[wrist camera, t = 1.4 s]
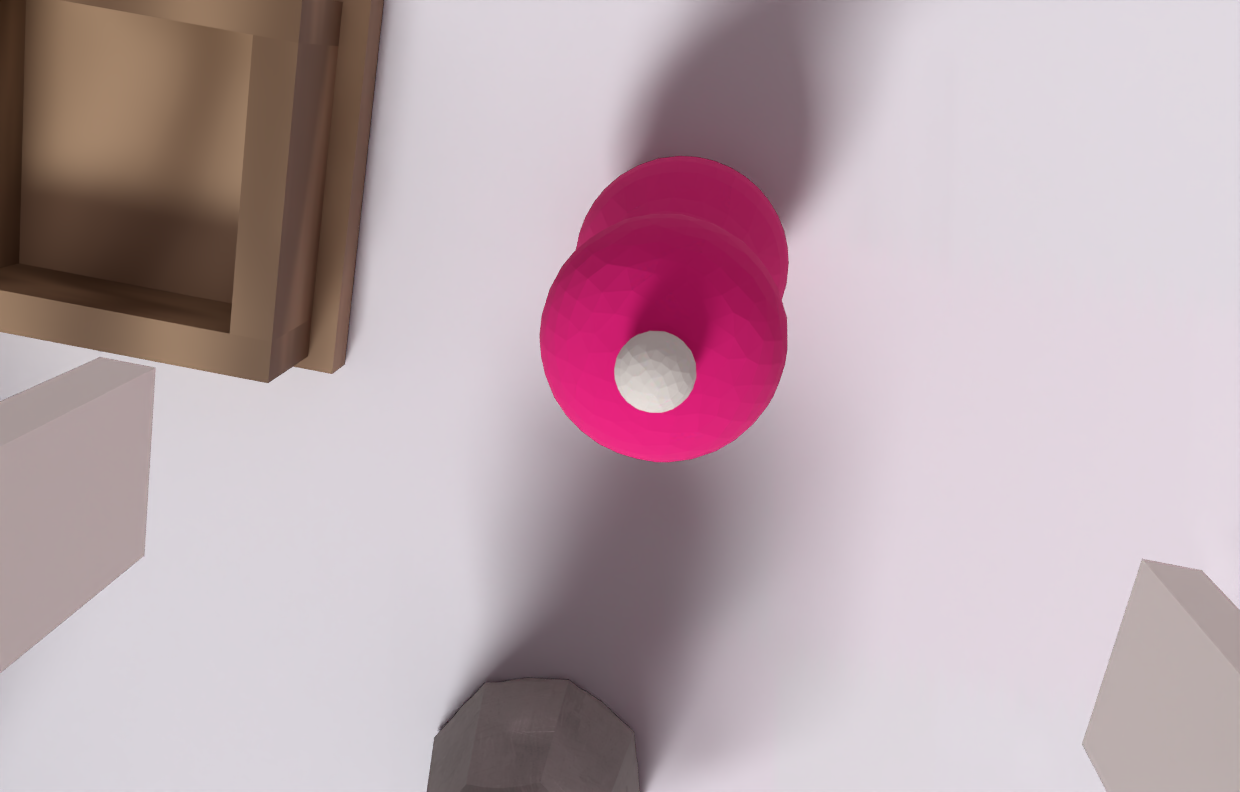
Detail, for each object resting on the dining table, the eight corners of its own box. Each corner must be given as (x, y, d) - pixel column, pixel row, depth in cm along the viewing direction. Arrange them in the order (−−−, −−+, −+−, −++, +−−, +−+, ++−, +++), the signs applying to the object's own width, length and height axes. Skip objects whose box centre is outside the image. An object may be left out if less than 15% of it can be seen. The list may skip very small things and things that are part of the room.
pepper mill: (625, 121, 42) (542, 156, 23) (811, 187, 42) (883, 278, 23) (564, 304, 44) (440, 478, 25) (742, 367, 44) (754, 589, 25)
